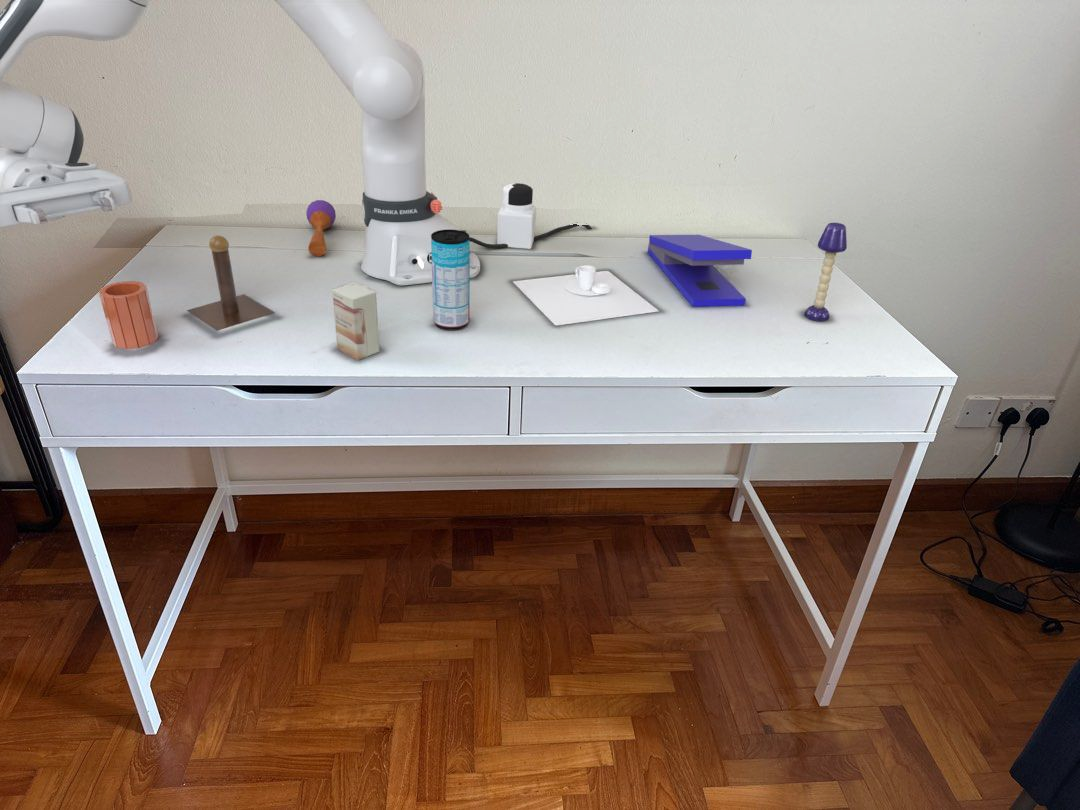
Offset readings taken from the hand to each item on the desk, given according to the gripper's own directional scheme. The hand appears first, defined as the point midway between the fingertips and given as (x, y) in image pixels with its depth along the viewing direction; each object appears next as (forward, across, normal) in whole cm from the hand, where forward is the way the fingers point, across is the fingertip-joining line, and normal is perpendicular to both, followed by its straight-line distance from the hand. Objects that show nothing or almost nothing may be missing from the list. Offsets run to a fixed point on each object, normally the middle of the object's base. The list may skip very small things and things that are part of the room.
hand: (76, 211), depth 111 cm
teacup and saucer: (+44, +65, +18) cm, 81 cm away
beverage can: (+37, +40, +18) cm, 57 cm away
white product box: (+35, +23, +18) cm, 46 cm away
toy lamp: (+77, +90, +18) cm, 120 cm away
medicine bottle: (+16, +76, +18) cm, 80 cm away
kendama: (-11, +46, +18) cm, 51 cm away
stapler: (+52, +89, +18) cm, 105 cm away
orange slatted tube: (+12, 0, +17) cm, 21 cm away
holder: (+12, +15, +17) cm, 26 cm away
